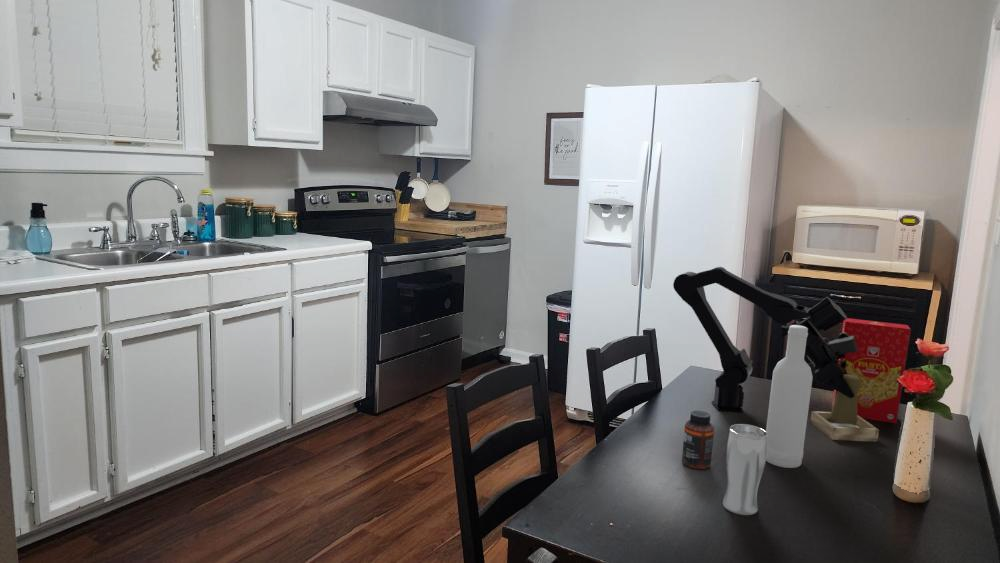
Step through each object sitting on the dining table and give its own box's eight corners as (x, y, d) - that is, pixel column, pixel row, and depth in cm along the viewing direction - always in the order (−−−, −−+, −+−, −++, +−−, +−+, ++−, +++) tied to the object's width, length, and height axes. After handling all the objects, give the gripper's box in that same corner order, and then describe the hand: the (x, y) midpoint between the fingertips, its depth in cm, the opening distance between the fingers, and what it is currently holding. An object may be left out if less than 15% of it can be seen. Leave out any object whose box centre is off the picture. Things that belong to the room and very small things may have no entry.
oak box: (831, 439, 160) (833, 427, 160) (810, 422, 171) (811, 411, 170) (877, 441, 160) (879, 429, 160) (853, 424, 171) (855, 413, 171)
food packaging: (833, 413, 179) (845, 321, 175) (831, 407, 184) (843, 317, 180) (896, 423, 173) (910, 329, 169) (893, 417, 178) (907, 325, 174)
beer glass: (755, 520, 120) (765, 441, 118) (716, 509, 124) (724, 431, 121) (763, 505, 126) (772, 429, 123) (725, 494, 129) (733, 420, 127)
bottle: (756, 459, 146) (772, 325, 141) (770, 449, 152) (786, 320, 147) (794, 472, 141) (812, 333, 136) (807, 461, 147) (824, 327, 142)
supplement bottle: (712, 462, 144) (717, 412, 142) (708, 473, 139) (713, 420, 137) (683, 456, 146) (688, 406, 145) (678, 466, 141) (684, 415, 139)
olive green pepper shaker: (863, 422, 163) (869, 379, 161) (843, 424, 161) (850, 380, 159) (843, 413, 169) (849, 371, 167) (824, 415, 167) (830, 372, 165)
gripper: (836, 330, 155) (883, 386, 152) (841, 317, 171) (884, 367, 168) (795, 356, 160) (839, 411, 157) (804, 341, 176) (844, 390, 173)
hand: (853, 394), depth 163 cm, fingers closed on olive green pepper shaker, 5 cm apart
